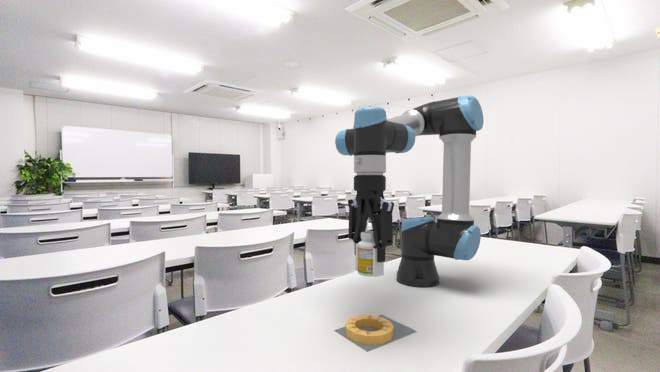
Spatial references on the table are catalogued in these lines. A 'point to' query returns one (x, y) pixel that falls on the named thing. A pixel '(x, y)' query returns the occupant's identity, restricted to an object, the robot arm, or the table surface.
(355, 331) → the golden tan faceted ring
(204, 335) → the table surface
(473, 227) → the robot arm
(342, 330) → the slate mat
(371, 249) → the supplement bottle
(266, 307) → the table surface
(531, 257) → the table surface
